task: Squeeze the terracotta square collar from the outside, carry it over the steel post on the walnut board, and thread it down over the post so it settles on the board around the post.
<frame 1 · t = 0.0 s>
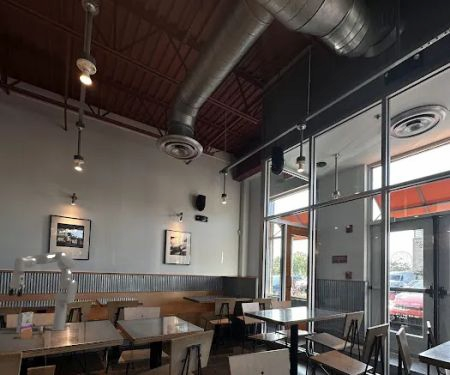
hand: (15, 296, 272), 31 cm above the table, tool pointing down, fingers open, 9 cm apart
candy bar box: (23, 334, 284), on the table
collar: (25, 337, 265), point 1 cm above the table, touching post board
post board: (31, 337, 271), on the table
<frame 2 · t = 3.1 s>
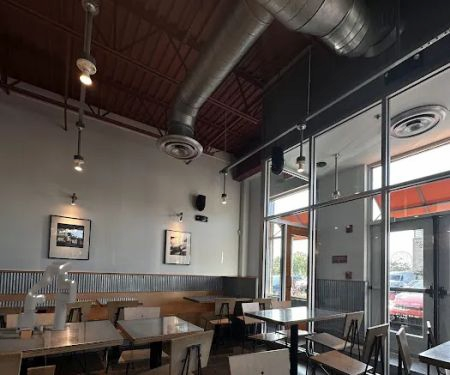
hand: (26, 336, 265), 2 cm above the table, tool pointing down, fingers closed on collar, 7 cm apart
collar: (25, 337, 265), point 2 cm above the table, touching gripper, post board
everything else where it was.
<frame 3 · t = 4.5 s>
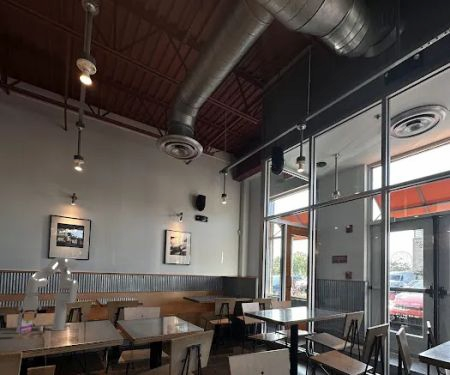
hand: (28, 318, 268), 15 cm above the table, tool pointing down, fingers closed on collar, 7 cm apart
collar: (28, 319, 268), point 14 cm above the table, touching gripper
everything else where it was.
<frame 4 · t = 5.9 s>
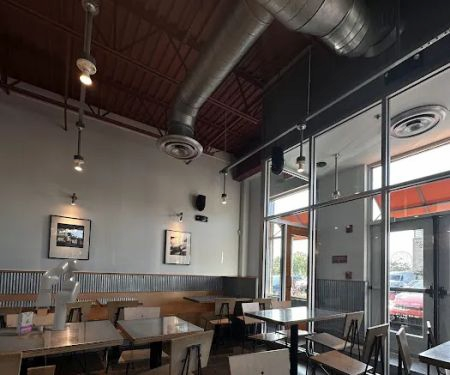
hand: (41, 314, 280), 16 cm above the table, tool pointing down, fingers closed on collar, 7 cm apart
collar: (41, 315, 279), point 16 cm above the table, touching gripper
everything else where it was.
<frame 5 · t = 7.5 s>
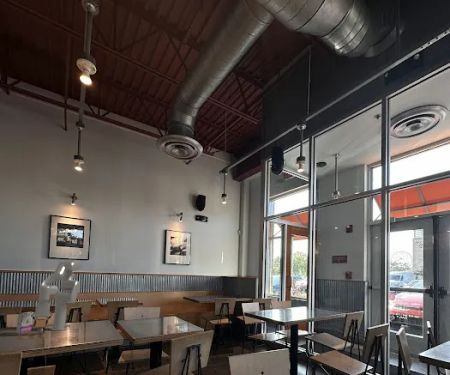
hand: (40, 325, 278), 8 cm above the table, tool pointing down, fingers closed on collar, 7 cm apart
collar: (40, 326, 278), point 8 cm above the table, touching gripper
everything else where it was.
when the fingers open (4 cm above the table, at t = 8.9 s): collar drops 2 cm, resting on post board.
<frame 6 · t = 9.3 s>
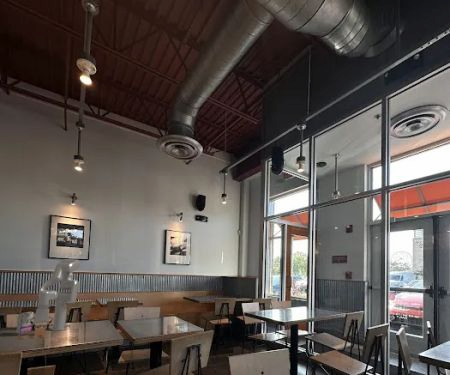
hand: (40, 329, 277), 5 cm above the table, tool pointing down, fingers open, 9 cm apart
collar: (39, 334, 277), point 1 cm above the table, touching post board
everything else where it was.
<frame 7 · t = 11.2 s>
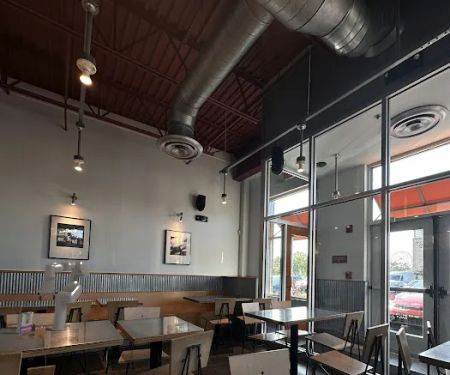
hand: (46, 300, 291), 26 cm above the table, tool pointing down, fingers open, 9 cm apart
nothing on the table moved.
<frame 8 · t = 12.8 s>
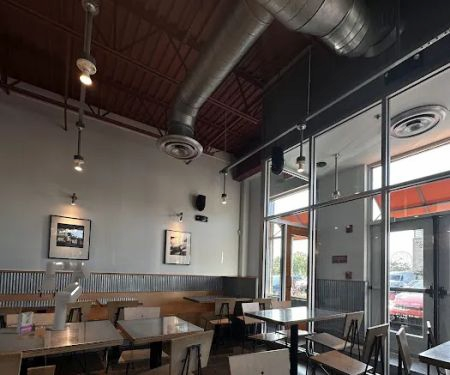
hand: (47, 297, 292), 28 cm above the table, tool pointing down, fingers open, 9 cm apart
nothing on the table moved.
at the end: collar 0.0 cm from the target spot on the post board, point 1.5 cm above the post board's base; collar tilted 0°; the gripper is holding nothing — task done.
